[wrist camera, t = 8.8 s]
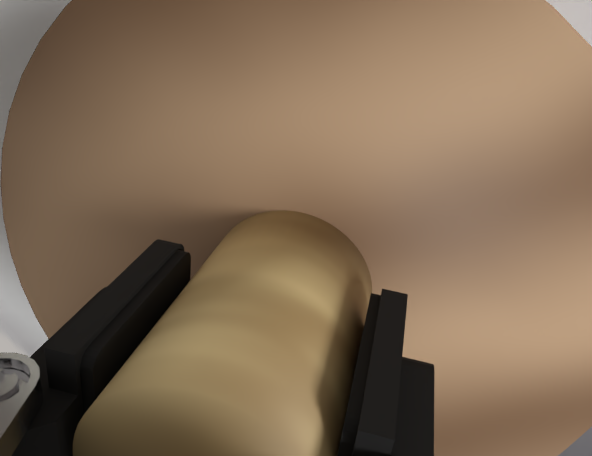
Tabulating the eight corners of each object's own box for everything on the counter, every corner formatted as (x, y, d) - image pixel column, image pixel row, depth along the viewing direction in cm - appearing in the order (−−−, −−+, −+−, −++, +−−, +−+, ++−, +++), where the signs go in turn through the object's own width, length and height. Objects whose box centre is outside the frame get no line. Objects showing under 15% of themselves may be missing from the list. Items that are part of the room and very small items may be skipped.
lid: (775, 371, 12) (1109, 766, 6) (262, 535, 19) (181, 800, 13) (379, -312, 9) (256, -915, 3) (-72, 183, 16) (-393, 317, 10)
